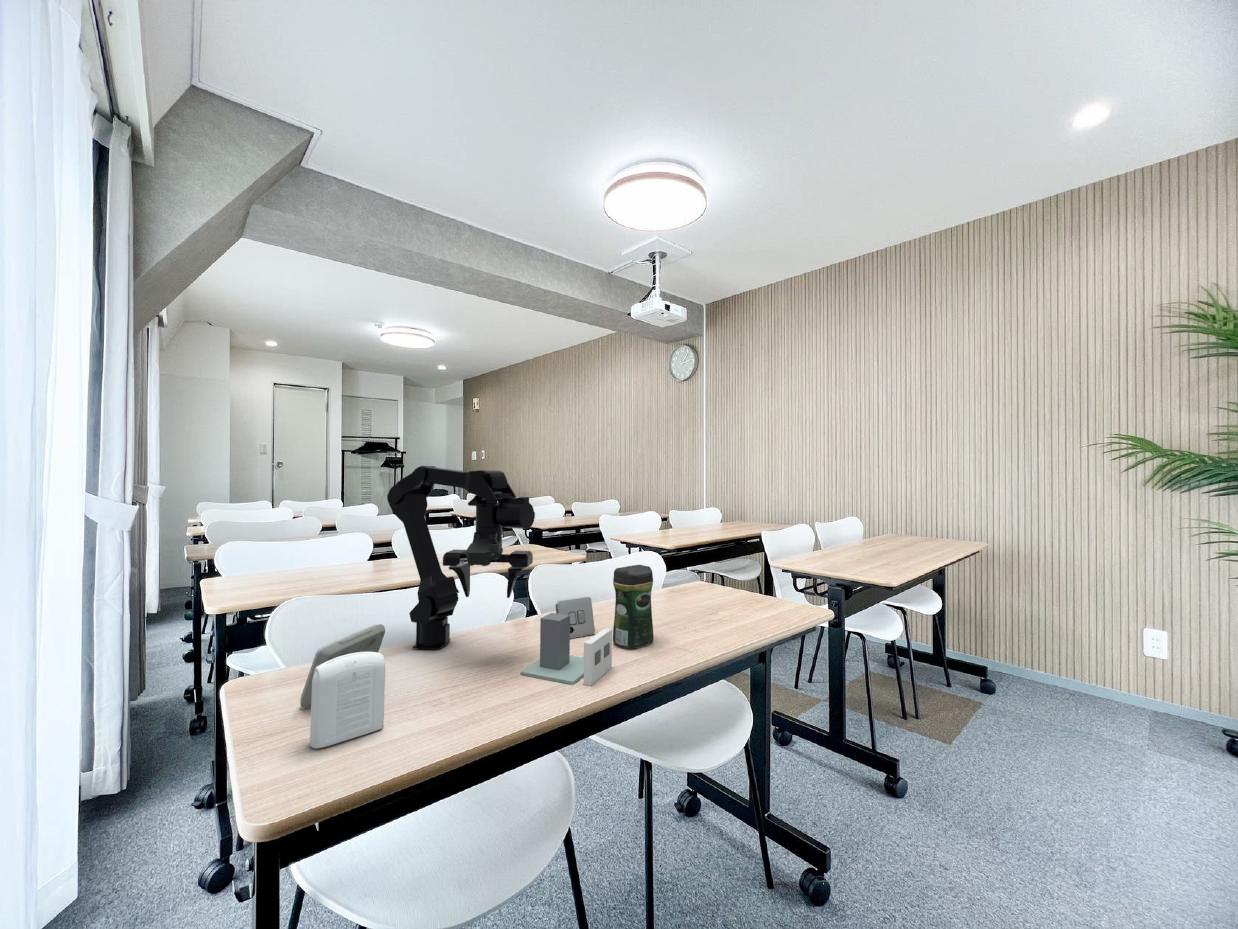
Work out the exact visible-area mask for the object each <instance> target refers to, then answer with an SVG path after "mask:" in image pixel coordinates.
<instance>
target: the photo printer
mask: <svg viewBox="0 0 1238 929" xmlns="http://www.w3.org/2000/svg"><path fill="white" fill-rule="evenodd" d="M384 656H385V655H383V654H382V653H381V652H379V651H378V652H357V653H351V654H346V655H343V656H339V657H336V658H334V659H331V660H329V661H327V662H325V663H323V664H321V665H319V666H317V667H316V668H315V670H314V676H313V679H312V701H311V707H310V728H309V729H310V731H309V732H310V733H309V734H310V735H309V736H310V737H309V746H310V747H312V748H313V749H316V750H317V749H322V748H326V747H329V746H333V745H335V744H339V743H343V742H345V741H349V740H352V739H354V738H357V737H361V736H364V735H368V734H371V733H373V732H377V731H378V730H382V728H384V725H385V724H384V722H385V721H384V719H385V690H386V688H385V687H386V661H385V657H384Z"/></svg>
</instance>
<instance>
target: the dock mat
mask: <svg viewBox="0 0 1238 929" xmlns="http://www.w3.org/2000/svg"><path fill="white" fill-rule="evenodd" d="M519 674H520V675H521V676H524V677H531V678H534V679H540V680H541V679H542V680H547V681H551V682H556V683H561V684H567V685H572V686H574V685H575V684H576V683H578V682H579V681H580V680H581V679H582V678H584V657H581V656H577V655H576V656H574V655H570V663H568V664H567V665H566V666H564V667H563V668H562V669H560V670H554V669H549V668H543V667H540V658H539V659H538V660H536V661H535V662H533V663H532V664H530V665H529V666H526V668H525V667H524V669H522V670H521V671H520V673H519Z"/></svg>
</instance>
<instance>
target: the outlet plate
mask: <svg viewBox="0 0 1238 929" xmlns="http://www.w3.org/2000/svg"><path fill="white" fill-rule="evenodd" d="M612 656H613V628H607V627H606V628H603V629H602V630H600V631H599V632H597V633H596V634H594V635H593V636H592V637H590V638H588V640H585V641H584V643H583V658H584V676H583V685H584V686H590V687H591V686H592V685H594V684H595V683H596V682H598V680H599V679H601V677H603V676H604V675H605V674H606V673H608V671H610V669H611V668H613V666H612V664H613V663H612V662H613V657H612Z"/></svg>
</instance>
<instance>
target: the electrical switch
mask: <svg viewBox="0 0 1238 929" xmlns="http://www.w3.org/2000/svg"><path fill="white" fill-rule="evenodd" d="M592 602H593V601H592V598H591V597H590V596H585V597H577V598H570V599H562V600H558V601H557V602H556V604H555V613H557V614H565V615H570V640H571V639H574V638H575V639H576V638H582V637H586V636H592V635H593V636H594V635H595V633H596V627H595V619H594V610H593V604H592Z"/></svg>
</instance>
